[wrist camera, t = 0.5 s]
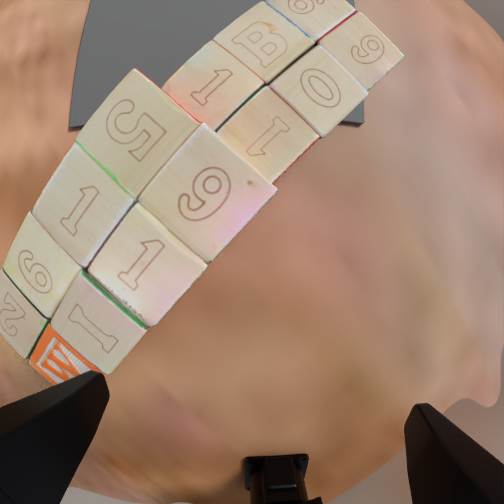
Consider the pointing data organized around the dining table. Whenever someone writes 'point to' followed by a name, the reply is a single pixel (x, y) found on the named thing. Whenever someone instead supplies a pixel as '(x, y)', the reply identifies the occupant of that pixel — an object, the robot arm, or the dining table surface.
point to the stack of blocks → (177, 178)
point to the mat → (148, 45)
